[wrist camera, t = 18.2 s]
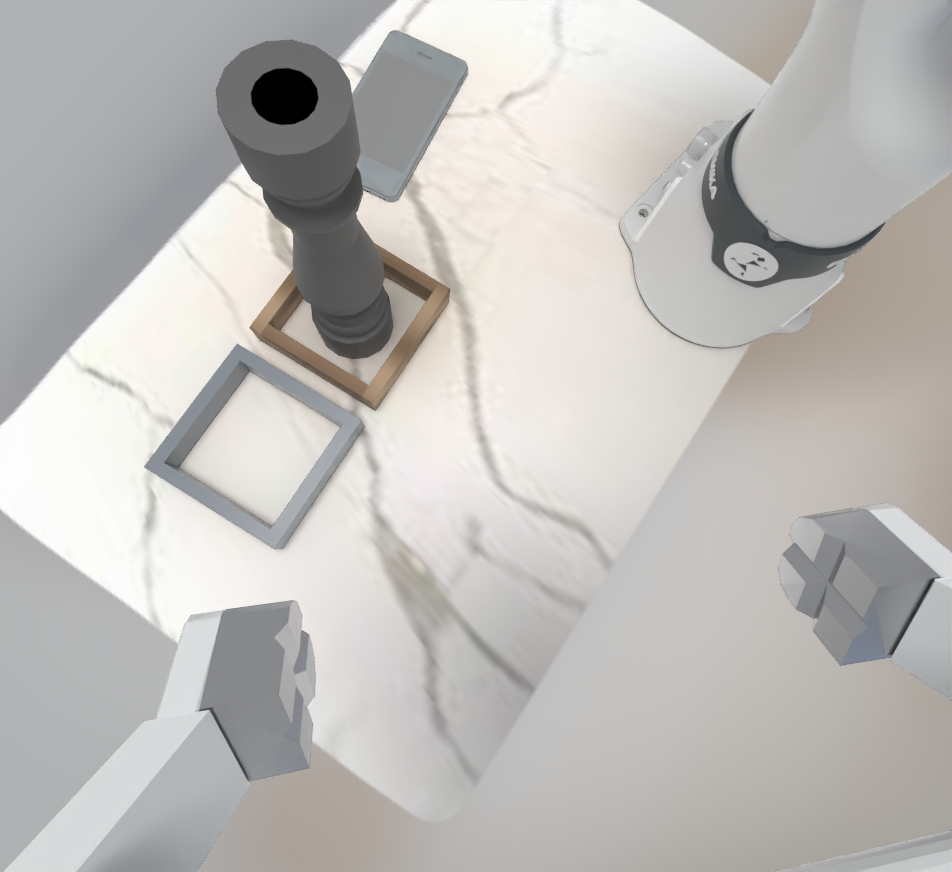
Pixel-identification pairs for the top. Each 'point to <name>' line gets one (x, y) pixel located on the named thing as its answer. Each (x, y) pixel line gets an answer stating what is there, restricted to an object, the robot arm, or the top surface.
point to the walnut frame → (370, 395)
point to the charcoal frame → (205, 412)
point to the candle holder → (310, 182)
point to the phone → (402, 109)
